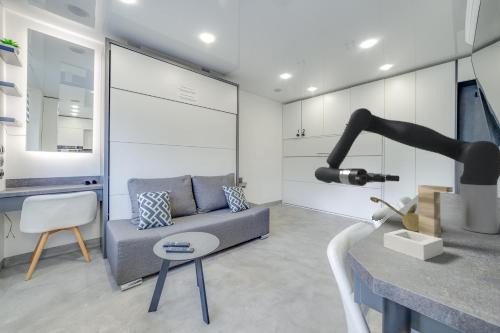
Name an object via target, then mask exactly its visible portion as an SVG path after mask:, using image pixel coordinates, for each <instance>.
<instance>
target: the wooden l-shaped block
mask: <svg viewBox="0 0 500 333" xmlns="http://www.w3.org/2000/svg"><path fill="white" fill-rule="evenodd" d="M453 192H454V188H453V186H445V185H443V186H442V185H429V184H428V185H427V184H423V185H421V184H420V185H418V186H417V193H418V194H417V195H418V198H417V199H418V204H417V207H418V209H417V210H418V215H419V231H418V233H421V234H425V235H429V236H433V237H437V238H441V239H442V233H441V231H442V229H441V228H442V226H441V224H442V223H441V220H442V219H441V216H442V215H441V193H445V194H447V193H453Z"/></svg>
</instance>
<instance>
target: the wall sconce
mask: <svg viewBox="0 0 500 333" xmlns="http://www.w3.org/2000/svg"><path fill="white" fill-rule="evenodd" d="M369 200H371V201H372V202H374V203H376V204H378V203H379V202H380V203H382V204H384V205H386V206H387V207H388V208H389V209H390V210H393V212H395V213H397V214H398V215H399V216H401V217H402V224H403V226H404V227H405V229H406V230H409V231H413V232H419V213H415V212H416V210H417V207H418V204H417V203H414V204H412V206H410V208H409V209H408V210H407V212H406V213H402V212H401V211H399V210H397V209H396V208H395V207H393V206H392V205H390V204H389V203H388V202H387V201H385V200H383V199H380V198H378V197H375V196H370V198H369ZM441 230H442V227H441Z"/></svg>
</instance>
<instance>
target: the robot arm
mask: <svg viewBox="0 0 500 333" xmlns="http://www.w3.org/2000/svg"><path fill="white" fill-rule="evenodd" d="M363 131H364V132H369V133H372V134H377V135H379V136H382V137H384V138H387V139H389V140H391V141H395V142H397V143H400V144H403V145H405V146H408V147H411V148H415V149H418V150H423V151H427V152H431V153H434V154H435V153H436V154H438V155H441V156H444V157H446V158H449V159H451V160H454V161H455V162H456V161H457V163H460V164H463V172H462V173H461V176H460V177H459V187H460V188H459V193H460V194H459V196H460V199H459V200H460V203H459V204H460V228H461V229H463V230H466V231H469V232H474V233H482V234H491V235H492V234H494V235H495V234H498V233H499V217H498V216H499V209H498V207H499V204H498V201H499V200H498V199H499V196H498V180H499V178H500V148H499V146H498V145H497V144H496V143H494V142H491V141H488V140H478V141H477V140H476V141H473V142H472V141H466V140H461V139H458V138H457V139H456V138H452V137H449V136H447V135H444V134H442V133H440V132H438V131H437V130H434V129H433V128H430V127H428V126H424V125H421V124H417V123H414V122H411V121H410V122H409V121H402V120H395V119H394V120H393V119H388V118H384V117H380V116H377V115H375V114H372V112H371V111H370V110H369V109H368V108H363V107H362V108H358V109H355V110H354V111H353V112H352V113H351V115H350V117H349V120H348V123H347V125H346V127H345V129H344V130H343V133H342V135H341V136H340V137H339V140H338V141H337V143H336V144H335V146H334V147H333V149H332V150H331V152H330V154H329V155H328V157H327V158H326V164H328V166H326V167H325V166H322V167H318V168H317V169H315V171H314V177H315V179H316V180H318V181H320V182H323V183H326V184H331V183H335V184H341V185H346V186H347V185H348V186H356V187H363V186H364V187H365V186H366V185H367V184H370V183H386V182H400V176H399V175H391V174H388V173H387V174H382V173H374V172H368V171H367V170H366V169H365V168H360V167H359V168H357V167H355V168H351V167H350V168H340V166H341V165H342V164H343V162H344V161H345V158H346V157H347V156H348V154H349V153H350V152H349V151H350V150H351V148H352V147H353V144H354V143H355V141H356V139H357V138H358V137H359V136H360V134H361V133H362V132H363Z"/></svg>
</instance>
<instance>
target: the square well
mask: <svg viewBox="0 0 500 333" xmlns="http://www.w3.org/2000/svg"><path fill="white" fill-rule="evenodd" d="M383 247H384V248H386V249H389V250H391V251H395V252H397V253H400V254H403V255H407V256H409V257H412V258H415V259H418V260H420V261H427V260H430V259H431V258H435V257H437V256H439V255H442V254H444V239H443V238H442V237H441V238H437V237H433V236H429V235H425V234H421V233H419V232H418V231H411V230H409V229H406V228H401V229H399V230H398V229H397V230H394V231H389V232H385V233H383Z"/></svg>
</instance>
